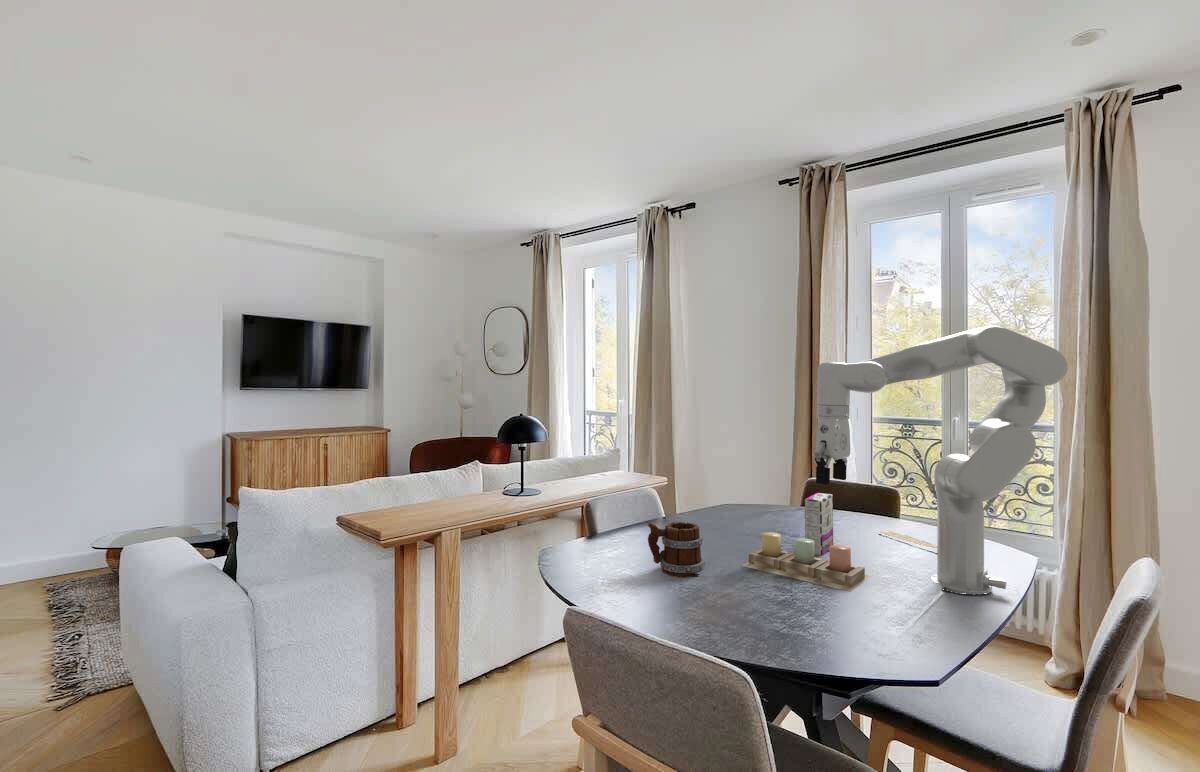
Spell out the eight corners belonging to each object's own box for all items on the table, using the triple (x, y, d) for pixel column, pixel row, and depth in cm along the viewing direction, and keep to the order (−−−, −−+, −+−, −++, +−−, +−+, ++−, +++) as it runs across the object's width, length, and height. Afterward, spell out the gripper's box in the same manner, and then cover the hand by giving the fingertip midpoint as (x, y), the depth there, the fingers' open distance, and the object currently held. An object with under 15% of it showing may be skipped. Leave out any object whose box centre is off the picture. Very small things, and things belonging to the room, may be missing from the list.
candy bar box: (816, 547, 175) (816, 492, 175) (833, 550, 172) (833, 494, 172) (803, 556, 166) (803, 498, 166) (822, 560, 163) (822, 500, 163)
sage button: (817, 560, 150) (817, 540, 150) (809, 564, 147) (809, 544, 147) (799, 556, 153) (799, 537, 153) (791, 560, 150) (791, 541, 150)
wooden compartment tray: (871, 581, 146) (871, 565, 146) (850, 596, 135) (850, 579, 135) (766, 558, 165) (766, 544, 165) (741, 570, 155) (741, 555, 155)
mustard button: (784, 553, 156) (784, 534, 156) (775, 557, 153) (775, 538, 153) (767, 549, 160) (767, 531, 160) (758, 553, 156) (758, 534, 156)
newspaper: (877, 536, 189) (877, 530, 189) (895, 534, 192) (895, 529, 191) (939, 557, 167) (939, 551, 167) (958, 555, 169) (958, 549, 169)
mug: (715, 575, 150) (705, 517, 149) (661, 588, 147) (650, 530, 147) (700, 561, 161) (690, 508, 161) (650, 573, 159) (640, 519, 158)
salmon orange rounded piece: (853, 567, 144) (853, 547, 144) (846, 572, 141) (846, 551, 140) (834, 563, 147) (834, 543, 147) (826, 568, 144) (826, 547, 144)
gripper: (833, 414, 137) (831, 488, 137) (861, 412, 149) (860, 479, 150) (802, 412, 142) (800, 483, 143) (832, 410, 155) (831, 475, 155)
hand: (831, 481), depth 146 cm, fingers open, 9 cm apart
